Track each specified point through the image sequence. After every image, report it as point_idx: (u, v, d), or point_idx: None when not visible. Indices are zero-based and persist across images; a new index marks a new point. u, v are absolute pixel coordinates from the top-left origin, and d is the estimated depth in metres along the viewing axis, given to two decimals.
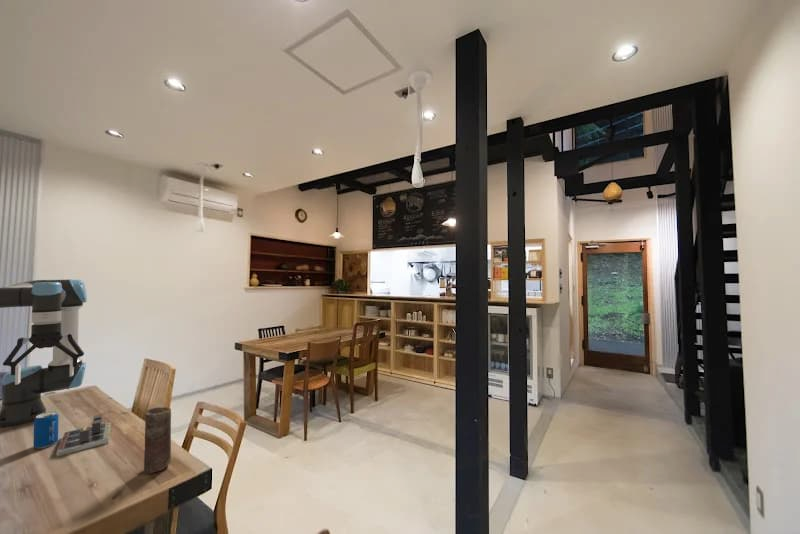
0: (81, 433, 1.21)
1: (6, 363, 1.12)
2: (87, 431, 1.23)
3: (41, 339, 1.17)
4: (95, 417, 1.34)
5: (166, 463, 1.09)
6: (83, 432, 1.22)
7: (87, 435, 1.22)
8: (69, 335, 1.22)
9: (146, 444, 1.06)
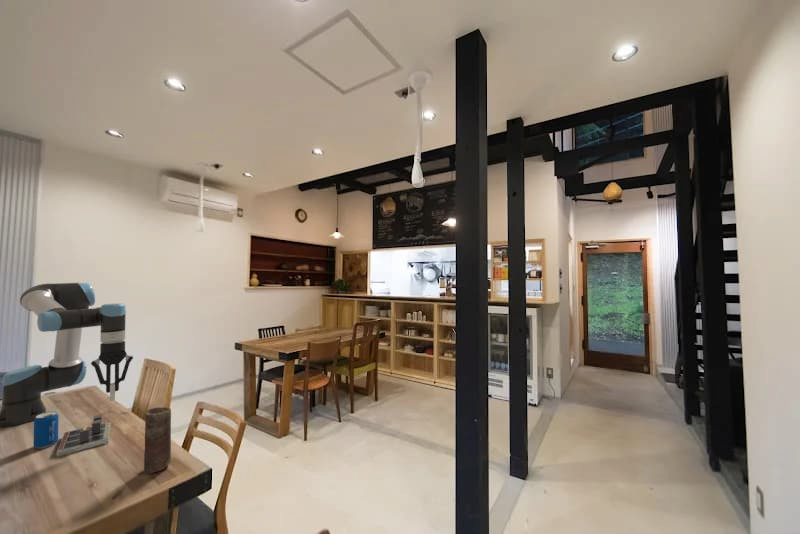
0: (81, 433, 1.21)
1: (102, 382, 1.26)
2: (87, 431, 1.23)
3: (108, 357, 1.27)
4: (95, 417, 1.34)
5: (166, 463, 1.09)
6: (83, 432, 1.22)
7: (87, 435, 1.22)
8: (131, 358, 1.32)
9: (146, 444, 1.06)
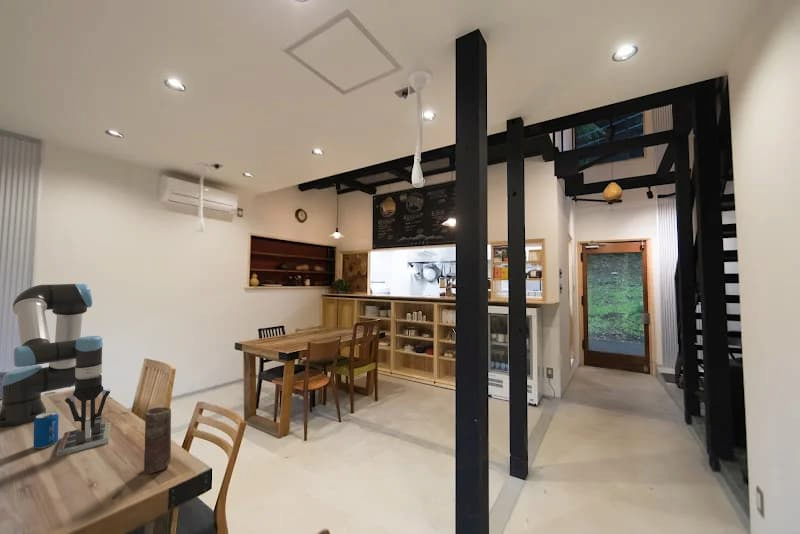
0: (77, 434, 1.21)
1: (77, 419, 1.21)
2: (83, 432, 1.22)
3: (83, 393, 1.22)
4: None
5: (166, 463, 1.09)
6: (80, 433, 1.21)
7: (83, 436, 1.22)
8: (108, 392, 1.27)
9: (146, 444, 1.06)
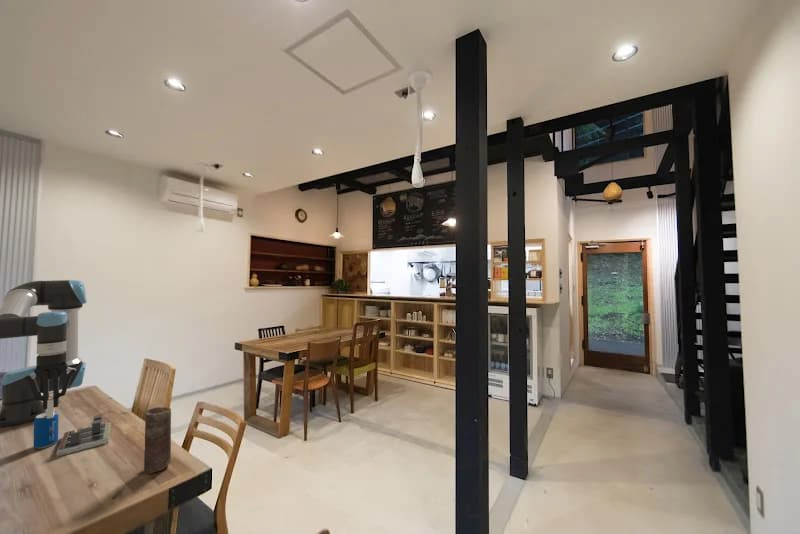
0: (72, 435, 1.20)
1: (38, 398, 1.15)
2: (78, 433, 1.21)
3: (45, 370, 1.16)
4: (95, 417, 1.34)
5: (166, 463, 1.09)
6: (74, 434, 1.20)
7: (78, 437, 1.21)
8: (72, 371, 1.21)
9: (146, 444, 1.06)
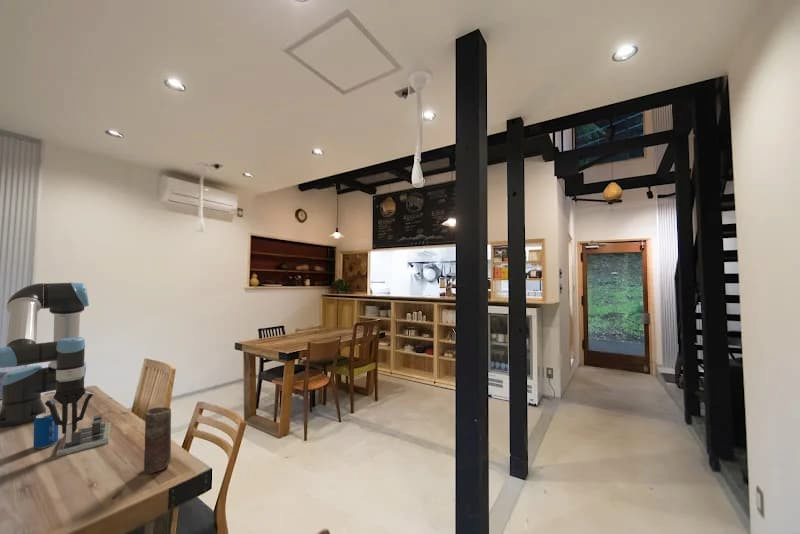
0: (73, 435, 1.20)
1: (57, 422, 1.18)
2: (79, 433, 1.21)
3: (64, 396, 1.19)
4: (95, 417, 1.34)
5: (166, 463, 1.09)
6: (75, 434, 1.20)
7: (79, 437, 1.21)
8: (90, 395, 1.24)
9: (146, 444, 1.06)
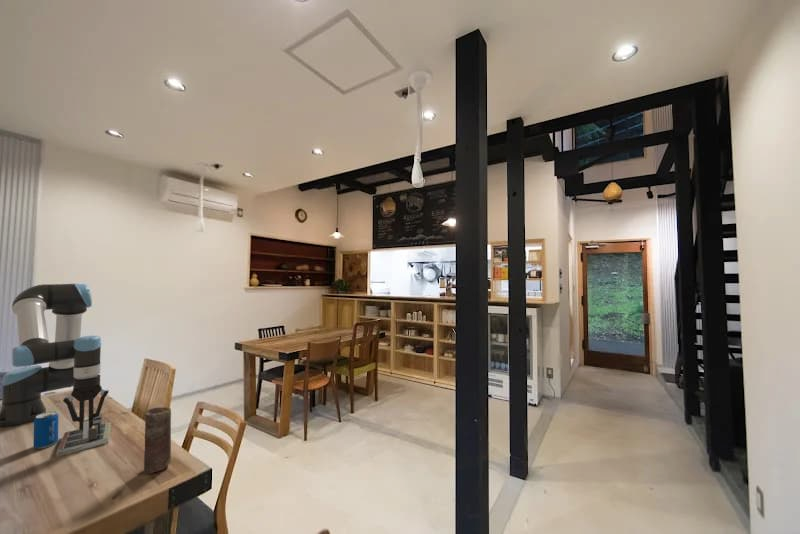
0: (90, 431, 1.23)
1: (75, 419, 1.21)
2: (95, 429, 1.24)
3: (81, 393, 1.22)
4: (95, 417, 1.34)
5: (166, 463, 1.09)
6: (92, 430, 1.23)
7: (95, 433, 1.24)
8: (106, 392, 1.27)
9: (146, 444, 1.06)
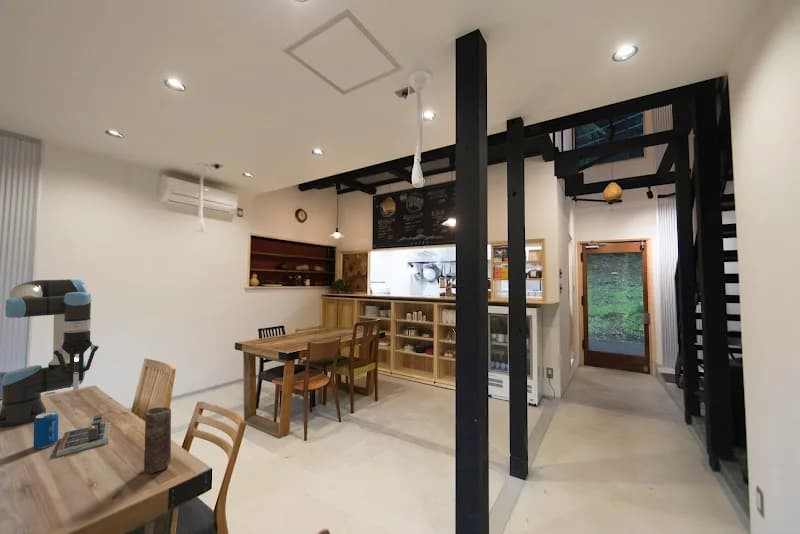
0: (90, 431, 1.23)
1: (65, 371, 1.24)
2: (95, 429, 1.24)
3: (71, 346, 1.25)
4: (95, 417, 1.34)
5: (166, 463, 1.09)
6: (92, 430, 1.23)
7: (95, 433, 1.24)
8: (96, 347, 1.29)
9: (146, 444, 1.06)
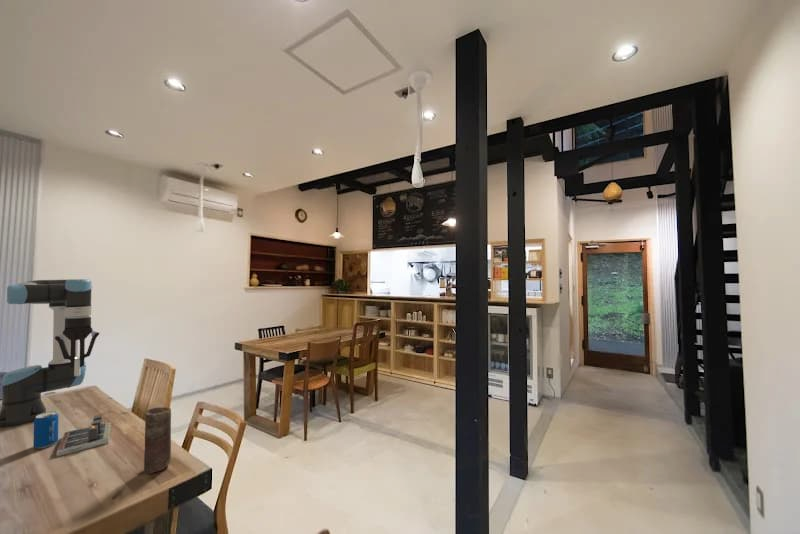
0: (90, 431, 1.23)
1: (66, 357, 1.25)
2: (95, 429, 1.24)
3: (72, 332, 1.26)
4: (95, 417, 1.34)
5: (166, 463, 1.09)
6: (92, 430, 1.23)
7: (95, 433, 1.24)
8: (97, 334, 1.31)
9: (146, 444, 1.06)
